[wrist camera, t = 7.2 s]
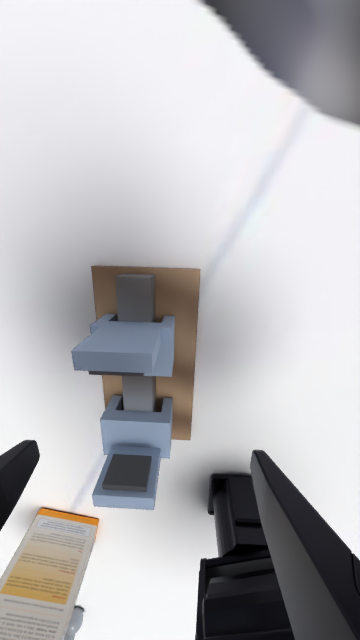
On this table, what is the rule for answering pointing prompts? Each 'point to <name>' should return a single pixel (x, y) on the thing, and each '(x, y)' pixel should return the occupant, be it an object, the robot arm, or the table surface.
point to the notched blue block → (127, 348)
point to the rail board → (184, 338)
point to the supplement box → (45, 576)
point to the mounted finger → (132, 455)
